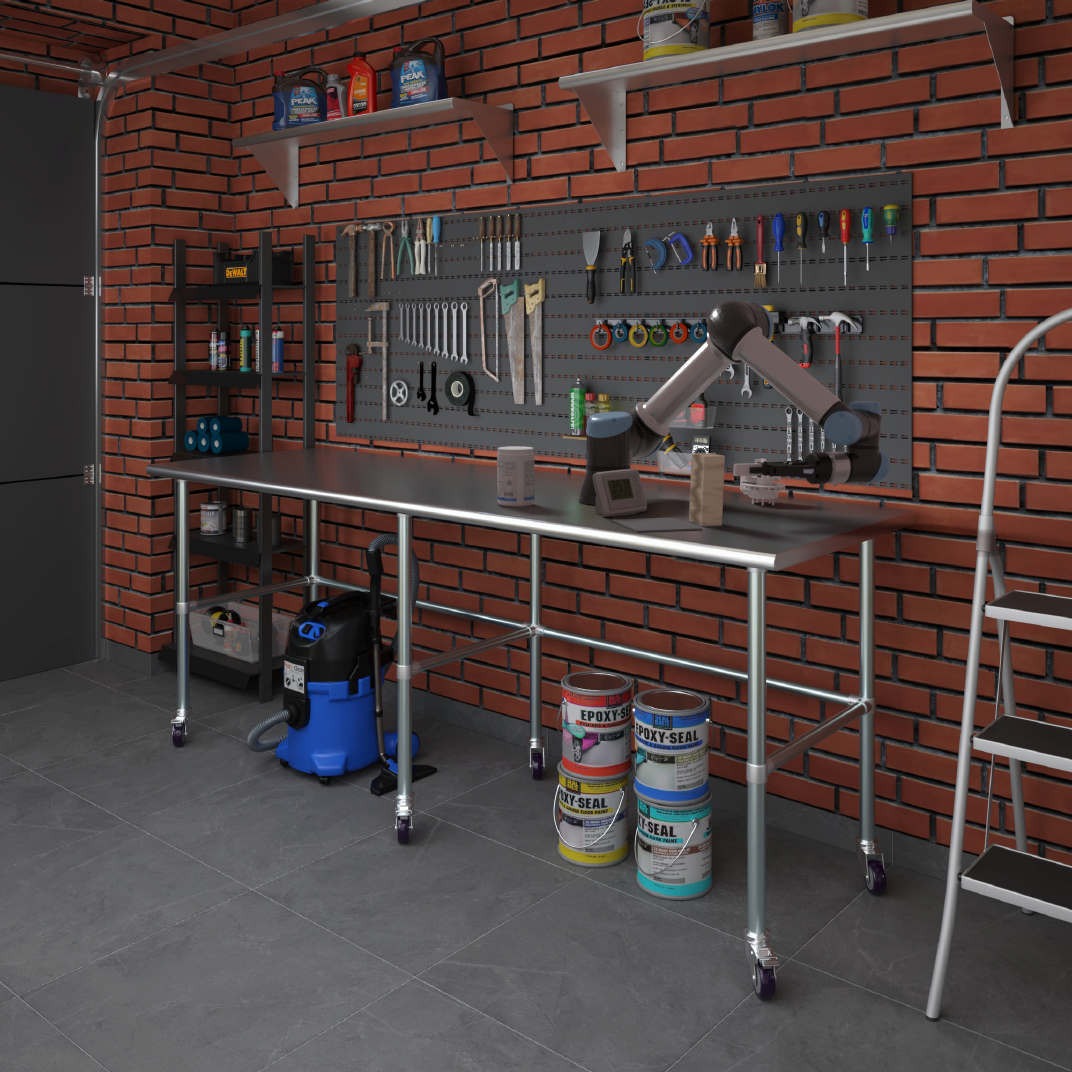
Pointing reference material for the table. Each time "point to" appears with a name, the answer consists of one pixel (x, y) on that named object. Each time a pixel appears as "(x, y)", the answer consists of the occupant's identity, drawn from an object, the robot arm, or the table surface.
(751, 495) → the mechanical part
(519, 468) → the supplement tub
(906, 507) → the table surface
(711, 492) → the beige rectangular block
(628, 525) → the charcoal rubber mat
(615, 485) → the digital clock
